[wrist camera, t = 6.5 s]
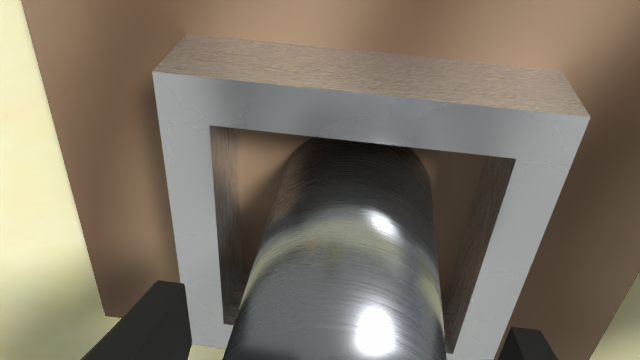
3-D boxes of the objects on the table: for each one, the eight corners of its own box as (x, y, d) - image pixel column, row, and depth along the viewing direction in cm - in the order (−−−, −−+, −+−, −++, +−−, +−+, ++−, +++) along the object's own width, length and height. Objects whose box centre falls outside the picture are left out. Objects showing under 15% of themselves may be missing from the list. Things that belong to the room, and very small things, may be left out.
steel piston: (441, 133, 14) (469, 344, 9) (422, 255, 17) (434, 481, 11) (277, 122, 15) (201, 318, 9) (283, 244, 17) (227, 455, 12)
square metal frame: (560, 70, 13) (590, 117, 11) (474, 322, 18) (483, 383, 16) (186, 33, 14) (152, 71, 12) (210, 288, 19) (188, 343, 17)
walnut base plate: (772, -22, 12) (799, -10, 11) (570, 355, 20) (578, 378, 20) (23, -86, 13) (0, -80, 12) (116, 296, 21) (105, 315, 21)
